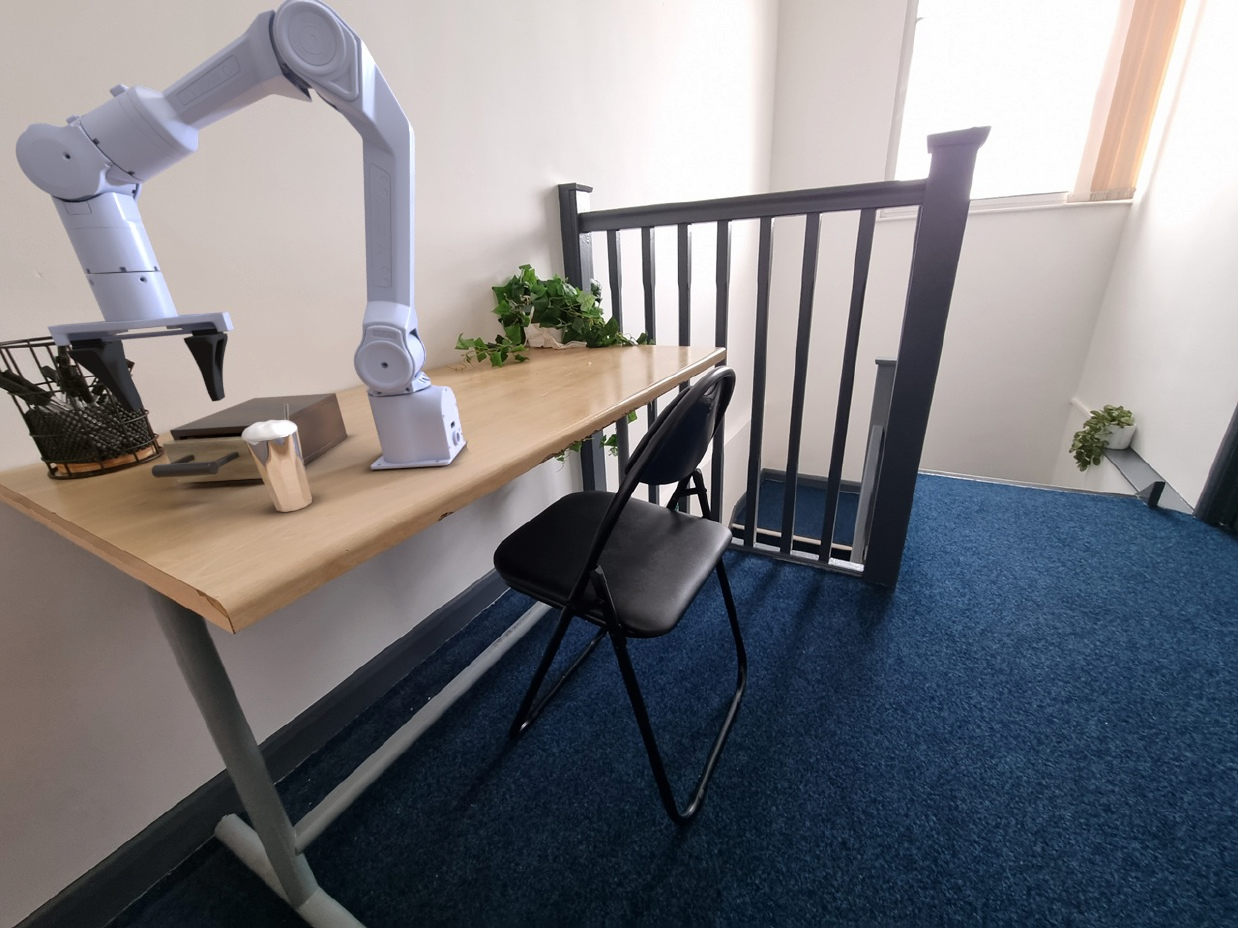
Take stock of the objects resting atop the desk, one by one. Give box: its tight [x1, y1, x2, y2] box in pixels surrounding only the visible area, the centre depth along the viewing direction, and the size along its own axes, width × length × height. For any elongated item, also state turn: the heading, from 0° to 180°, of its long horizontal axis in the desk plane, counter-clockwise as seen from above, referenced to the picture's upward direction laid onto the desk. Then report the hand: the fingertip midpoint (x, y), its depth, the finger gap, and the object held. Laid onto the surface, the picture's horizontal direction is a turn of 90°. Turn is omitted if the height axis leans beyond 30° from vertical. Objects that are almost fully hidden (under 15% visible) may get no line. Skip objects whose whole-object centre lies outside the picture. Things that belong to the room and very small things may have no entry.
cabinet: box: [169, 392, 348, 483], centre depth 65 cm, size 15×12×7 cm
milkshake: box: [242, 404, 313, 513], centre depth 50 cm, size 4×5×10 cm
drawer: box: [151, 433, 262, 484], centre depth 60 cm, size 18×10×5 cm, turn 1°
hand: (178, 404), depth 55 cm, fingers open, 7 cm apart
